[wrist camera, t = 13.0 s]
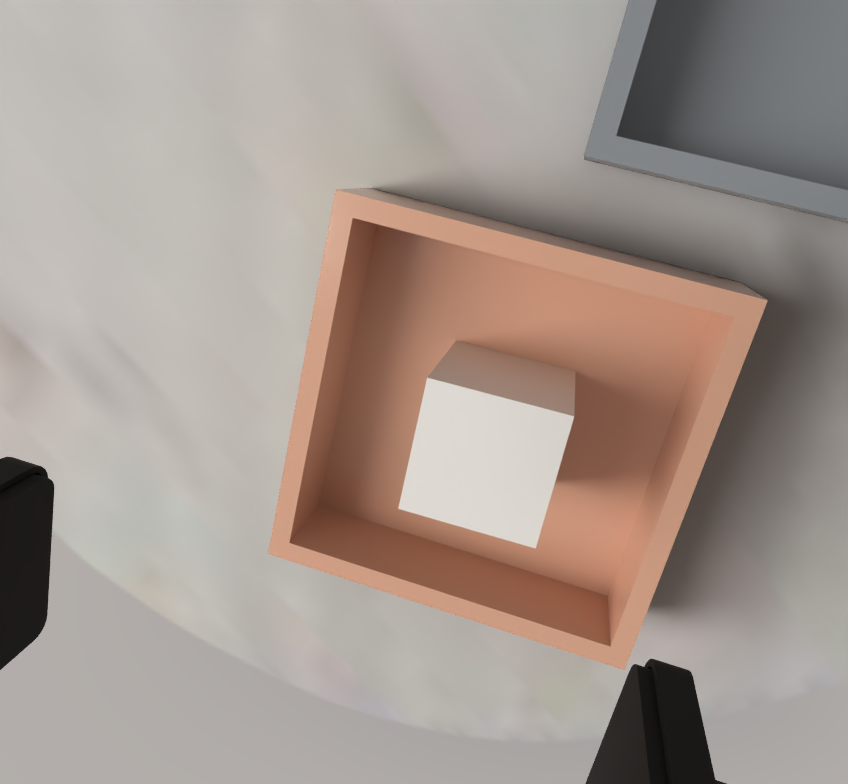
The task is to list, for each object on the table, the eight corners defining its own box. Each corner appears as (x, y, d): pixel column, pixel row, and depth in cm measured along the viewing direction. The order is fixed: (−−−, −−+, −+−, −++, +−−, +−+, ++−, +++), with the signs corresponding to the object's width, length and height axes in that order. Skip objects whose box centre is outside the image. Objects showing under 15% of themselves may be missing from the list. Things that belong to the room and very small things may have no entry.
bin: (370, 188, 30) (335, 189, 26) (739, 282, 28) (767, 300, 24) (306, 507, 35) (268, 553, 30) (618, 606, 33) (624, 669, 29)
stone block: (455, 340, 30) (427, 377, 25) (575, 371, 30) (574, 416, 24) (430, 450, 32) (398, 508, 26) (543, 481, 31) (535, 548, 25)
